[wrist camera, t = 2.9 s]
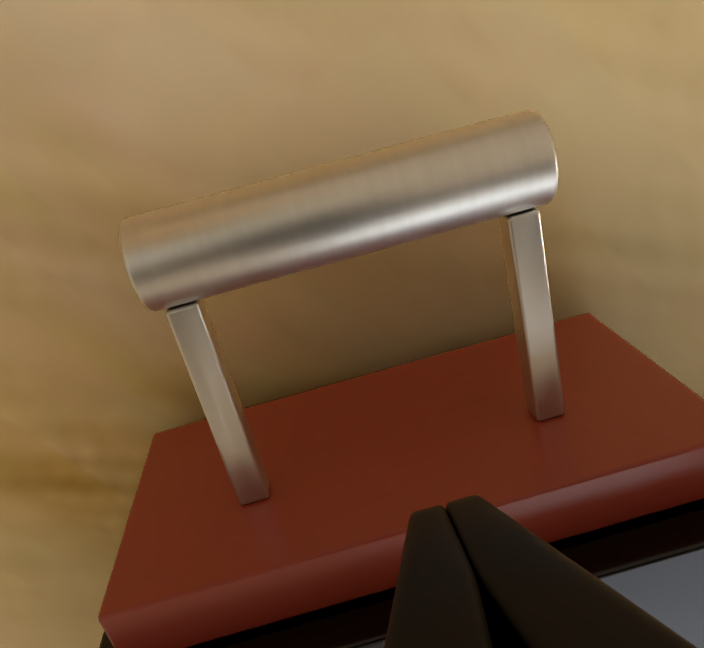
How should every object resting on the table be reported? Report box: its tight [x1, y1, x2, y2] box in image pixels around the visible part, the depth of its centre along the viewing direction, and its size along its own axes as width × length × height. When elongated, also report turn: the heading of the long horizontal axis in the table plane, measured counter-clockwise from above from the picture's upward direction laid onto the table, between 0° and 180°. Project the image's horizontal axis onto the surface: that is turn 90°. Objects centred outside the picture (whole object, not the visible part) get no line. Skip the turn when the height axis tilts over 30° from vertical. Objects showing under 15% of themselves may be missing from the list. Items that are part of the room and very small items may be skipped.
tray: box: [98, 110, 704, 648], centre depth 15 cm, size 19×11×6 cm, turn 14°
